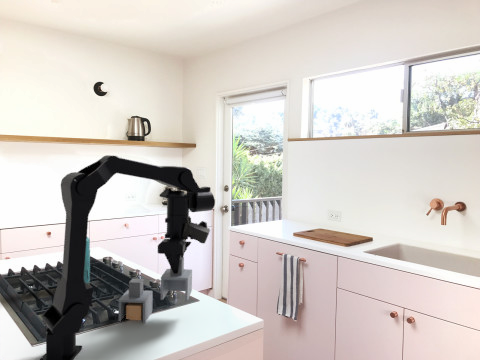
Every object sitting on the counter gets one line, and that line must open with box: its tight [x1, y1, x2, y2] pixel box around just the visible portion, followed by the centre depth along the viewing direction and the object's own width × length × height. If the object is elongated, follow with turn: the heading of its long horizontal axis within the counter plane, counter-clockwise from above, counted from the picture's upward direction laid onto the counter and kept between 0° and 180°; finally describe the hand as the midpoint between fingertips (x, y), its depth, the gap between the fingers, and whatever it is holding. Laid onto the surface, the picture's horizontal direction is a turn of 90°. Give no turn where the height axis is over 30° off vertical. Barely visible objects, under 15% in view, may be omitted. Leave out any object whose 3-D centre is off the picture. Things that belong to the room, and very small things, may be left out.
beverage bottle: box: [84, 236, 91, 284], centre depth 119 cm, size 6×7×20 cm
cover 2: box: [160, 256, 193, 302], centre depth 98 cm, size 7×7×10 cm
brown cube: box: [125, 302, 143, 321], centre depth 99 cm, size 4×4×4 cm
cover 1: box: [118, 278, 153, 324], centre depth 98 cm, size 7×7×10 cm
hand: (177, 271), depth 98 cm, fingers closed on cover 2, 3 cm apart
